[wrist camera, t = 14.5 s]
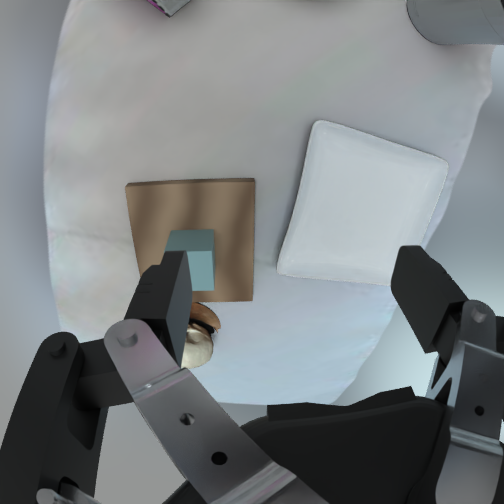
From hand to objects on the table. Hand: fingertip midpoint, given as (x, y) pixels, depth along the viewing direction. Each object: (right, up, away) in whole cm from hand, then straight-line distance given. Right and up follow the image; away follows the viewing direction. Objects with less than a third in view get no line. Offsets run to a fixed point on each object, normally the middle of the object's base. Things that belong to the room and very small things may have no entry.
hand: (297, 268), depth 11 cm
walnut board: (-10, +2, +31) cm, 32 cm away
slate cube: (-9, +1, +29) cm, 31 cm away
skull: (-13, -12, +39) cm, 42 cm away
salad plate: (+13, +7, +30) cm, 34 cm away
